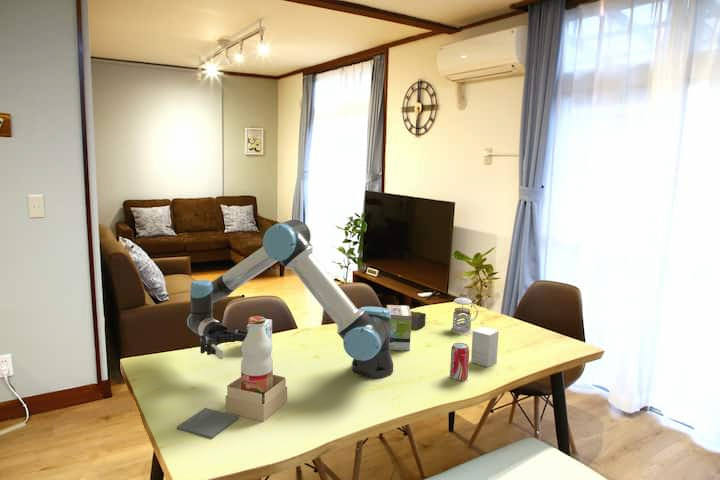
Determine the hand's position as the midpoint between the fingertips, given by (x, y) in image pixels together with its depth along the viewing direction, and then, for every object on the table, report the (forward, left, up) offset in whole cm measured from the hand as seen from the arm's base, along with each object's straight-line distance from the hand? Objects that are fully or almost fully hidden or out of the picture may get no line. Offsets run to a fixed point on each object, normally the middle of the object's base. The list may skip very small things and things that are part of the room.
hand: (241, 350), depth 158 cm
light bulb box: (+18, -36, -15) cm, 43 cm away
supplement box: (-67, -61, -15) cm, 92 cm away
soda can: (-61, -43, -15) cm, 76 cm away
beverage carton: (-25, -91, -15) cm, 96 cm away
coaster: (-2, +19, -15) cm, 24 cm away
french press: (-53, -94, -15) cm, 109 cm away
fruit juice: (-9, +5, -15) cm, 18 cm away
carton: (-9, +5, -15) cm, 18 cm away
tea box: (-31, -65, -15) cm, 74 cm away
